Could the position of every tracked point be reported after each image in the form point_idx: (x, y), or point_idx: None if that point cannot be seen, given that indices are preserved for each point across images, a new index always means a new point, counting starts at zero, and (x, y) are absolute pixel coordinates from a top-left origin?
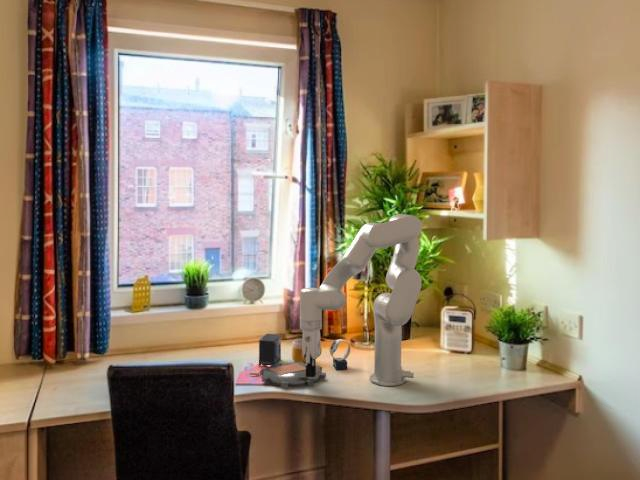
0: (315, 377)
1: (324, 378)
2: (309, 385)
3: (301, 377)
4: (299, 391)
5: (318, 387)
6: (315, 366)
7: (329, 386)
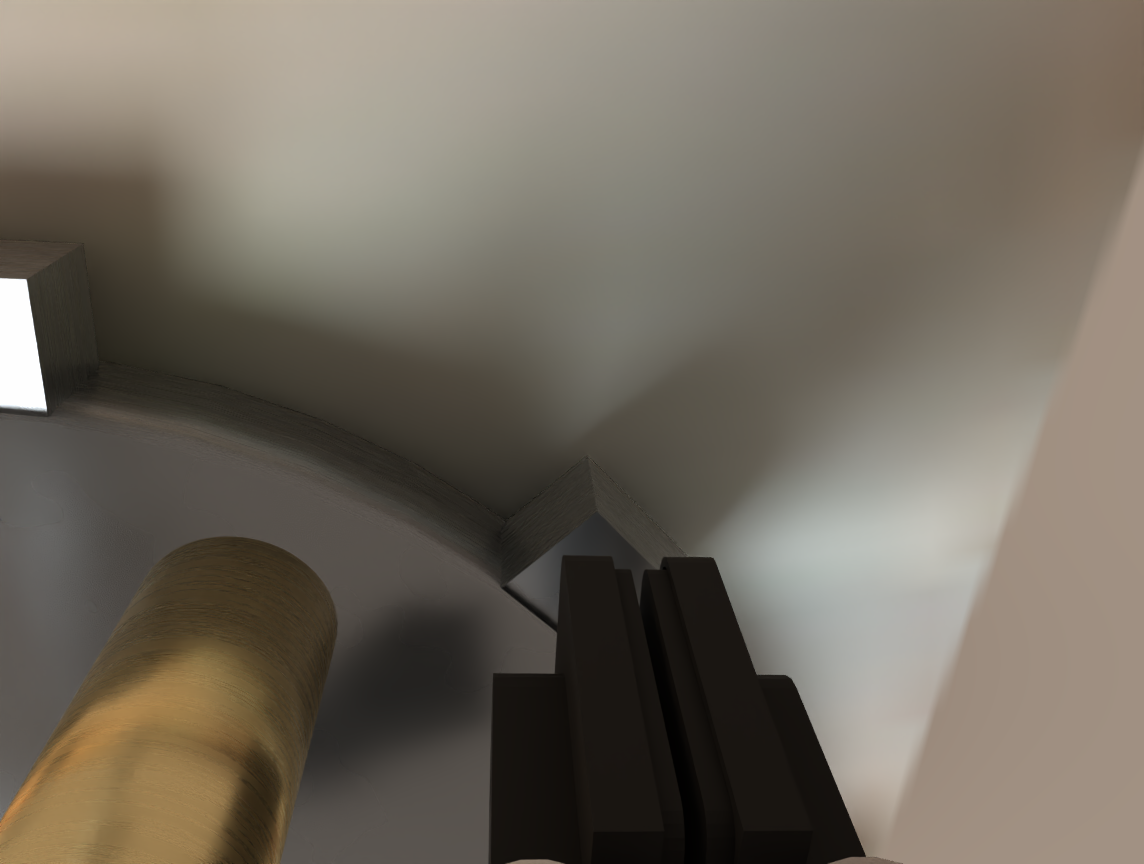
0: (364, 514)
1: (69, 256)
2: (678, 550)
3: (464, 826)
4: (890, 669)
5: (606, 327)
6: (654, 775)
7: (486, 38)
